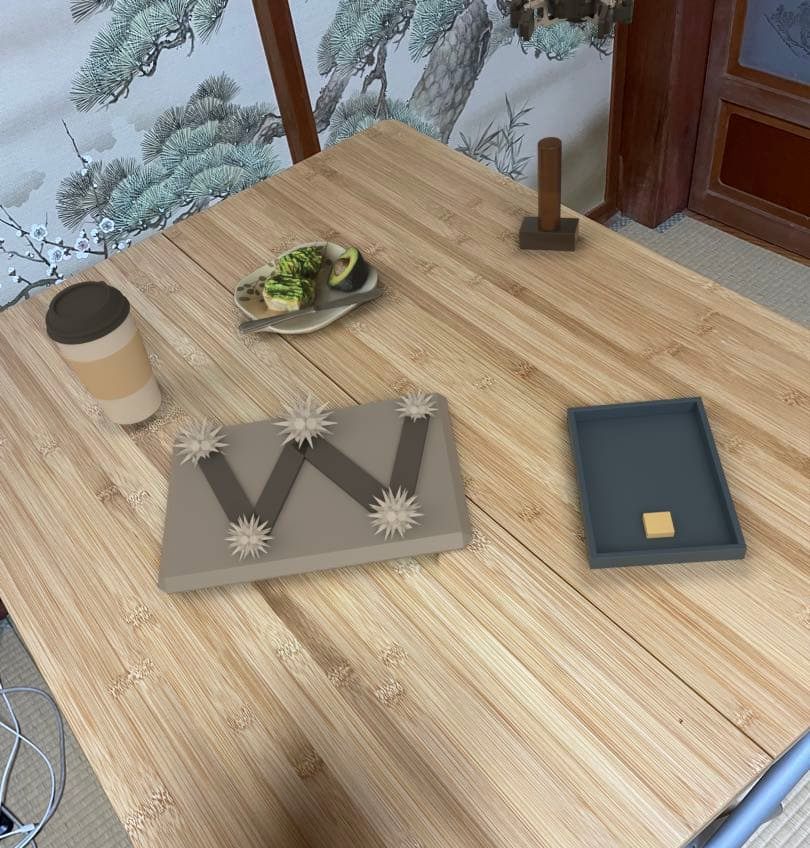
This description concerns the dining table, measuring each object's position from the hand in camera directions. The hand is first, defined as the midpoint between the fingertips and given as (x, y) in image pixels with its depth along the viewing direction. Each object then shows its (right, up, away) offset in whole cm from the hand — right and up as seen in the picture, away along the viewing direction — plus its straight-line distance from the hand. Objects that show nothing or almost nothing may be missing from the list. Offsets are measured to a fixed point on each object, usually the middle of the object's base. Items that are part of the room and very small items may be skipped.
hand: (563, 31), depth 95 cm
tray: (+5, -53, -15) cm, 56 cm away
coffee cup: (-50, -42, +3) cm, 65 cm away
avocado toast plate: (-30, -27, +12) cm, 42 cm away
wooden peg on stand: (+1, -20, +12) cm, 23 cm away
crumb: (+5, -57, -19) cm, 60 cm away
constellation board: (-27, -54, -10) cm, 61 cm away
